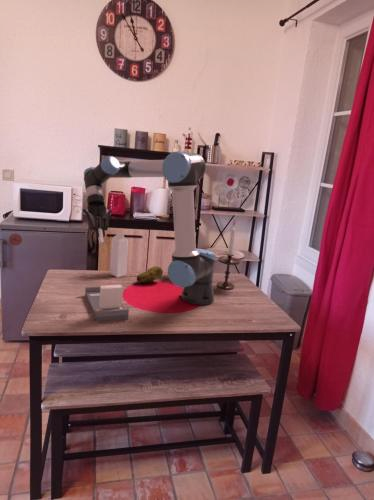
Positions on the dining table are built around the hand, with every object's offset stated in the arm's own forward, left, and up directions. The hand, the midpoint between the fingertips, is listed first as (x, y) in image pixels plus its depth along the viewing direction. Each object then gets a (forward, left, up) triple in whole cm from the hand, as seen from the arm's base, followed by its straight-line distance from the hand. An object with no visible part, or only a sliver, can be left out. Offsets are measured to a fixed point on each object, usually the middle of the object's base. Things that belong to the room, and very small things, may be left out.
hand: (101, 243), depth 156 cm
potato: (-13, -27, -24) cm, 38 cm away
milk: (+5, -29, -24) cm, 37 cm away
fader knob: (-13, +16, -21) cm, 30 cm away
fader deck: (-8, +9, -23) cm, 26 cm away
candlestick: (-49, -42, -24) cm, 68 cm away
